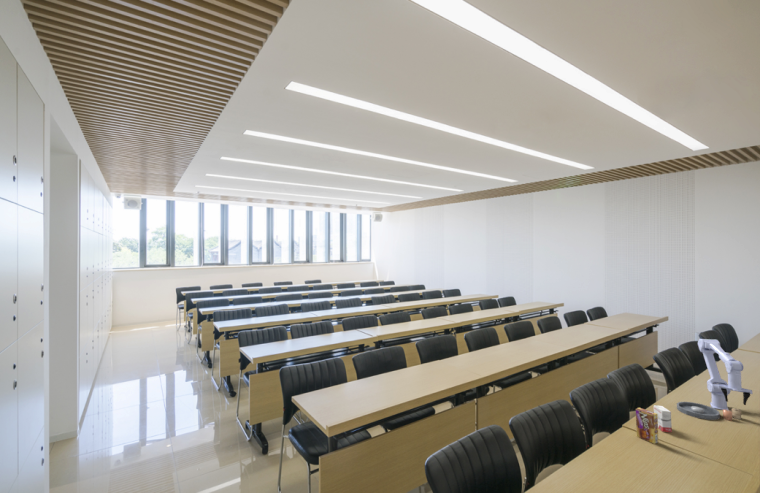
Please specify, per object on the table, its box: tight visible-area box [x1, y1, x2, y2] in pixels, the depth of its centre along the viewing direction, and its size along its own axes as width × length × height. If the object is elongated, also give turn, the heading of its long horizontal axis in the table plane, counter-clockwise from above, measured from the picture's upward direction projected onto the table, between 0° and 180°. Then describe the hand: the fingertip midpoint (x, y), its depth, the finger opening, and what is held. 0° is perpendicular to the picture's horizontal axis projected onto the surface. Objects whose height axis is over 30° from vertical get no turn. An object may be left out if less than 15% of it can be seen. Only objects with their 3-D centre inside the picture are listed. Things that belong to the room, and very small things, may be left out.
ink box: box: [653, 404, 673, 433], centre depth 198 cm, size 9×5×12 cm, turn 168°
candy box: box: [635, 407, 659, 445], centre depth 187 cm, size 9×4×15 cm, turn 26°
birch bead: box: [731, 408, 742, 421], centre depth 210 cm, size 4×4×5 cm
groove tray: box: [676, 401, 721, 421], centre depth 218 cm, size 20×20×3 cm
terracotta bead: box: [722, 409, 733, 422], centre depth 209 cm, size 4×4×5 cm
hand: (735, 402), depth 210 cm, fingers open, 7 cm apart
